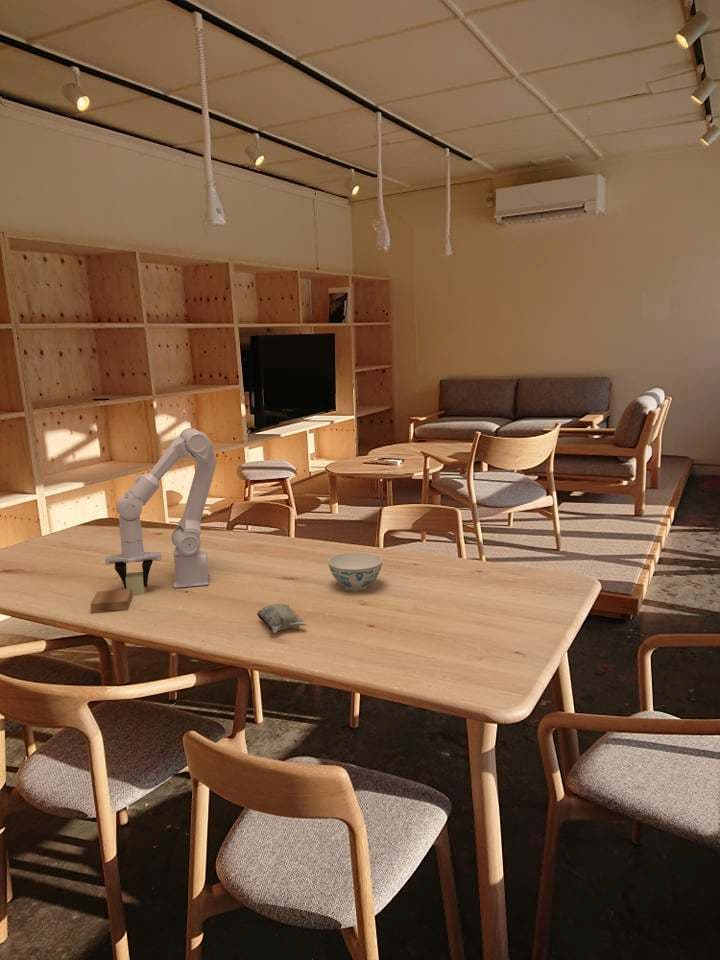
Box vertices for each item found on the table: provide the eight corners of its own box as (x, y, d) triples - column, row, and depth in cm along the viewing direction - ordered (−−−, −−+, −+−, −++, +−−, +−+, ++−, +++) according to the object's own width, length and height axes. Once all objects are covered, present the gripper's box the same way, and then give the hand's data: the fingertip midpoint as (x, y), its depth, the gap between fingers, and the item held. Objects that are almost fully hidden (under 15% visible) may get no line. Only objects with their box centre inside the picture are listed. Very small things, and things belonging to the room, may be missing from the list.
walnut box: (132, 599, 189) (131, 588, 189) (128, 611, 181) (127, 601, 180) (98, 602, 188) (97, 591, 187) (91, 615, 179) (90, 604, 179)
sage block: (145, 588, 196) (144, 571, 195) (144, 594, 192) (142, 576, 191) (129, 589, 196) (127, 572, 195) (127, 595, 191) (125, 578, 190)
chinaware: (320, 583, 197) (319, 557, 195) (367, 574, 203) (366, 548, 202) (343, 600, 184) (342, 572, 182) (393, 590, 190) (392, 563, 189)
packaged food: (289, 614, 176) (288, 596, 174) (307, 632, 165) (306, 612, 164) (256, 622, 172) (255, 603, 171) (272, 640, 161) (270, 620, 160)
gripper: (101, 546, 186) (106, 594, 188) (157, 542, 188) (161, 589, 191) (105, 538, 192) (110, 585, 195) (160, 534, 195) (164, 581, 198)
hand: (136, 587), depth 194 cm, fingers closed on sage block, 4 cm apart
